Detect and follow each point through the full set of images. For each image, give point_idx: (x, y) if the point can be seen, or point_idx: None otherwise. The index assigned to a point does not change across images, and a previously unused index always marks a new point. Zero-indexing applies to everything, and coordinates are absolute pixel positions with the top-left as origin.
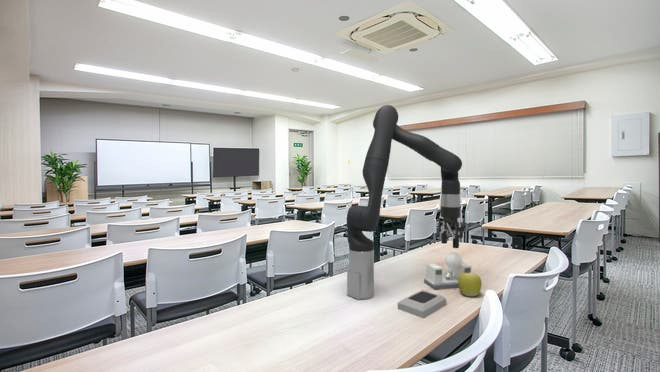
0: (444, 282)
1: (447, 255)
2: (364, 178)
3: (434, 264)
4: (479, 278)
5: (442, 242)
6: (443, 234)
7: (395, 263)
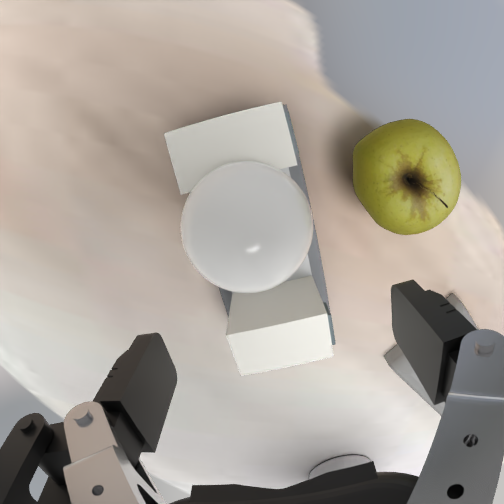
0: (302, 263)
1: (246, 292)
2: None
3: (250, 340)
4: (445, 139)
5: (173, 381)
6: (139, 441)
7: (30, 362)
